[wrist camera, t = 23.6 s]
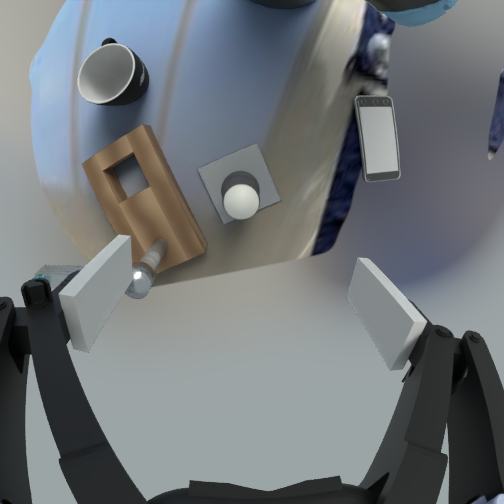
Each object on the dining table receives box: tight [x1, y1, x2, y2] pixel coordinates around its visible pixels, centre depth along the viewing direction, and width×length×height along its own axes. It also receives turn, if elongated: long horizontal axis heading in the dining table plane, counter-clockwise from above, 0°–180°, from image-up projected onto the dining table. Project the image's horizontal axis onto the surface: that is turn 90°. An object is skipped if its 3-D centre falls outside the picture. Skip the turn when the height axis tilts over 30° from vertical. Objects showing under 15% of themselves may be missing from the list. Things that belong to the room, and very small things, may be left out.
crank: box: [33, 261, 155, 299], centre depth 31 cm, size 18×4×4 cm, turn 89°
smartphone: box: [354, 96, 400, 182], centre depth 42 cm, size 7×1×15 cm
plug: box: [221, 171, 260, 219], centre depth 38 cm, size 5×5×13 cm
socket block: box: [82, 125, 207, 274], centre depth 38 cm, size 12×22×14 cm, turn 23°
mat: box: [198, 143, 281, 224], centre depth 44 cm, size 10×10×1 cm
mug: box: [77, 38, 149, 106], centre depth 31 cm, size 12×9×10 cm
